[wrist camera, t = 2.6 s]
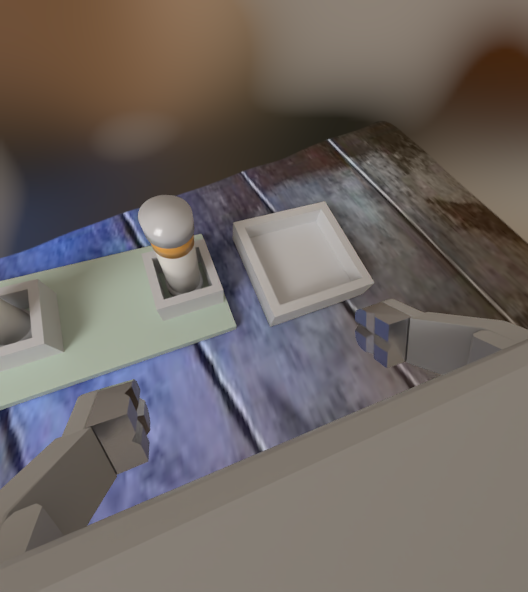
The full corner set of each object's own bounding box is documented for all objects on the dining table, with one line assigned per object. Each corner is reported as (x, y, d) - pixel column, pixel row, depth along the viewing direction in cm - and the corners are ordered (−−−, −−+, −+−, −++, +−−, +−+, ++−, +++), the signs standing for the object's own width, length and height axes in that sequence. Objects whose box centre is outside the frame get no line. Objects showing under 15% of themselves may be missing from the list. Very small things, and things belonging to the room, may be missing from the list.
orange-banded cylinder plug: (207, 295, 29) (198, 228, 19) (173, 305, 28) (144, 241, 18) (197, 267, 30) (184, 190, 20) (164, 276, 29) (133, 200, 19)
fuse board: (236, 329, 29) (237, 315, 25) (-14, 414, 23) (-59, 413, 19) (202, 238, 33) (199, 216, 29) (-17, 291, 27) (-55, 271, 23)
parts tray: (361, 294, 32) (374, 282, 30) (270, 326, 29) (274, 317, 26) (317, 217, 37) (324, 201, 34) (232, 238, 33) (233, 222, 31)
